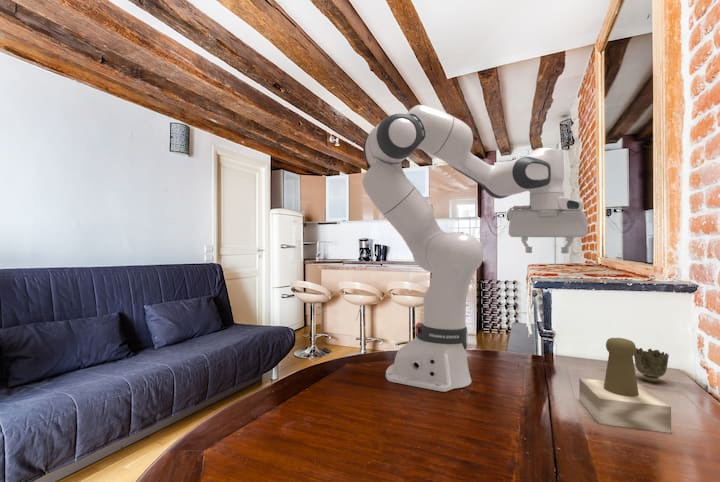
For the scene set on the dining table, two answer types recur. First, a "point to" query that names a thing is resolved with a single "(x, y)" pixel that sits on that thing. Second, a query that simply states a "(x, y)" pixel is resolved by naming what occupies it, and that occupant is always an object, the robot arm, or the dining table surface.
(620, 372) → the cork
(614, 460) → the dining table surface
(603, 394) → the plinth
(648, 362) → the cup
